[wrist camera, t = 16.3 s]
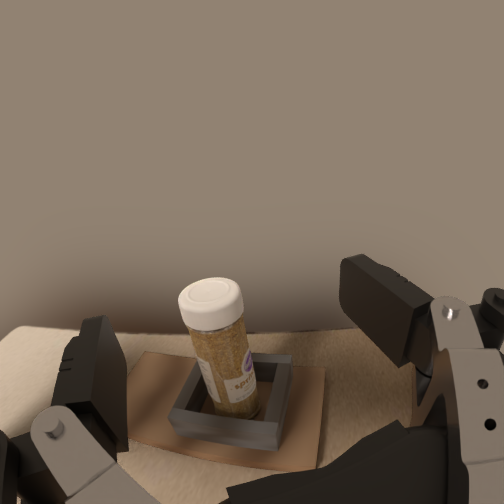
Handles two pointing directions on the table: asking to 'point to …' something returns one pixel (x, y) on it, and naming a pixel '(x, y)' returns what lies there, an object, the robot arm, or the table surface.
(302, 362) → the table surface
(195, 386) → the board
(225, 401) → the sprinkles bottle
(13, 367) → the table surface
